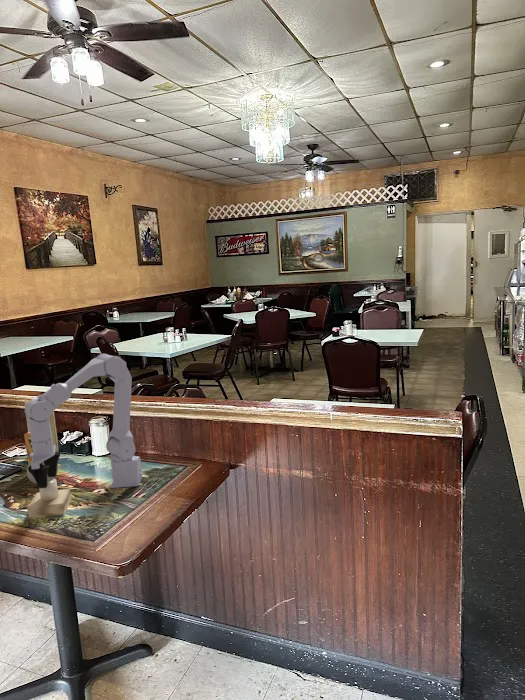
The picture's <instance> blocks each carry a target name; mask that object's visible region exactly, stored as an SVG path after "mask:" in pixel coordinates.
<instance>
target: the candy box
mask: <svg viewBox="0 0 525 700" xmlns="http://www.w3.org/2000/svg"><path fill="white" fill-rule="evenodd" d="M23 436H24V437H23V438H24V442H25V449H26V454H27V462H28V465H29V464H30V462H31V461H32V459H33V457H30V456H29V455H30V454H31V453H33V448H32V441H31V434H30V432H28V431H27V432H26V433H24V434H23Z"/></svg>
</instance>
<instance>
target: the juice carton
mask: <svg viewBox="0 0 525 700" xmlns="http://www.w3.org/2000/svg"><path fill="white" fill-rule="evenodd" d="M35 399H38V398H37V396H35V397H32V398H31V399H29V400H26V401H24V409H25V408H26V406H27V404H28V402H30V401H31V400H35ZM25 418H26V425H27V426H26V427H27V433H28V432H30V427H29V426H30V425H29V417H28V416H27V415H26V414H25ZM49 419H50V425H51V432H52V440H53V445H55V444H56V451H55V452H59V442H58V433H57V427H56V417H55V410H53V411H52V414H51V416H50V417H49Z"/></svg>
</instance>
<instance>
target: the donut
mask: <svg viewBox="0 0 525 700" xmlns="http://www.w3.org/2000/svg"><path fill="white" fill-rule="evenodd" d="M31 462H32V461H31ZM31 462H30V464H29V463H28V465H27V468H26V476H27V478H28V480H29V481H30V482H31V483H33V484H36V485H37V482H36V480H35V478H34V477H33V475H32V474H31V473H30V472H29V471H28V467H29V466H30V465H31ZM43 464H44V462H43ZM58 464H59V463H58ZM58 464H57V473H56V476H57V475H58V472H59V465H58ZM44 466H45V464H44ZM50 478H54V479H56V477H48V475H47V479H50Z"/></svg>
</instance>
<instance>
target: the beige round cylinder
mask: <svg viewBox="0 0 525 700" xmlns="http://www.w3.org/2000/svg"><path fill="white" fill-rule="evenodd" d="M38 489H39V492H40V497H41V500H42V501H50V500H53V499H55V498H57V497H58V496H59V495H58V490H59V489H58V483H57V478H50V479H47V487H46V488H39V487H38Z"/></svg>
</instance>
